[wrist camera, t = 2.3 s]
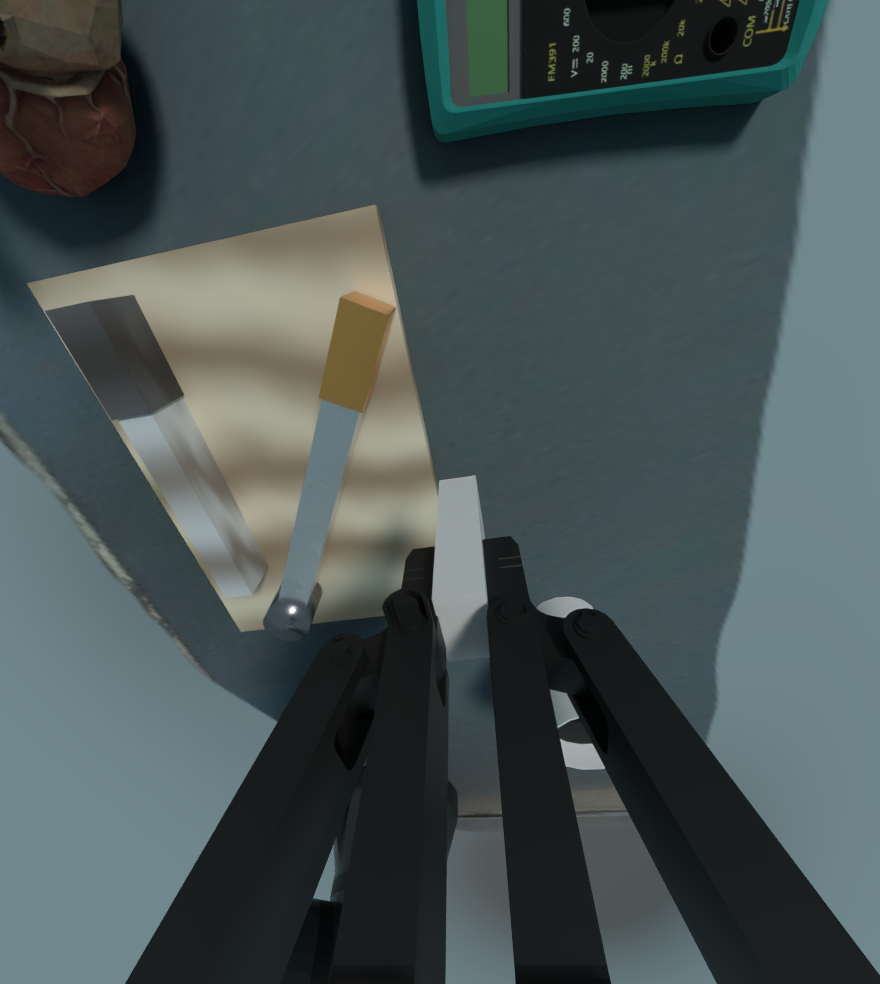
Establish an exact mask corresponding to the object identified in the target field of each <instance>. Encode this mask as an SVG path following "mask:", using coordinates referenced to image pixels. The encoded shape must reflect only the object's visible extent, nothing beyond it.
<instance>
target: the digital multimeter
mask: <svg viewBox="0 0 880 984" xmlns="http://www.w3.org/2000/svg"><path fill="white" fill-rule="evenodd" d="M828 2H829V0H417V6H418V18H419V30H420V38H421V47H422V55H423V63H424V71H425V79H426V86H427V93H428V100H429V107H430V114H431V120H432V127H433V132H434V135H435V137H436V138H437V139H438V140H439V141H440V142H444V143H448V142H453V141H458V140H464V139H469V138H474V137H479V136H485V135H490V134H495V133H501V132H506V131H511V130H517V129H522V128H527V127H533V126H538V125H545V124H552V123H559V122H566V121H573V120H579V119H586V118H593V117H600V116H607V115H614V114H625V113H635V112H646V111H656V110H667V109H678V108H688V107H703V106H718V105H734V104H749V103H756V102H758V101H760V100H763V99H765V98H767V97H769V96H771V95H773V94H776V93H778V92H780V91H782V90H784V89H786V88H789V87H790V86H791V85H792V84H793V83H794V81H795V80H796V79H797V76H798V74H799V72H800V70H801V67H802V65H803V63H804V60H805V58H806V56H807V54H808V51H809V49H810V47H811V44H812V42H813V40H814V37H815V35H816V33H817V30H818V28H819V26H820V23H821V21H822V18H823V16H824V13H825V10H826V7H827V5H828ZM676 9H677V10H676ZM670 18H671V19H670ZM668 21H669V22H668ZM667 22H668V23H667ZM659 31H660V32H659ZM649 39H650V40H649ZM640 44H641V45H640ZM608 45H609V46H608ZM638 45H639V46H638ZM764 66H767V67H764ZM757 67H760V68H757ZM749 68H752V69H749ZM742 69H745V70H742ZM734 70H738V71H734ZM727 71H730V72H727ZM719 72H723V73H719ZM712 73H716V74H712ZM704 74H708V75H704ZM697 75H700V76H697ZM690 76H693V77H690ZM682 77H685V78H682ZM675 78H677V79H675ZM667 79H670V80H667ZM660 80H662V81H660ZM652 81H654V82H652ZM645 82H647V83H645ZM637 83H639V84H637ZM630 84H631V85H630ZM622 85H624V86H622ZM450 86H451V89H450ZM615 86H617V87H615ZM607 87H609V88H607ZM600 88H602V89H600ZM593 89H595V90H593ZM585 90H587V91H585ZM578 91H580V92H578ZM570 92H572V93H570ZM563 93H565V94H563ZM555 94H558V95H555ZM548 95H550V96H548ZM540 96H543V97H540ZM533 97H535V98H533ZM525 98H527V99H525Z"/></svg>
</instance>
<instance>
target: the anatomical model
mask: <svg viewBox="0 0 880 984" xmlns="http://www.w3.org/2000/svg"><path fill="white" fill-rule="evenodd" d="M122 21H123V17H122V3H121V0H0V173H1V174H2V175H4V176H5V177H6V178H8V179H9V180H10V181H11V182H13V183H14V184H17V185H19V186H21V187H23V188H25V189H28V190H30V191H33V192H39V193H46V194H52V195H58V196H64V197H71V198H73V197H85V196H86V195H88V194H90V193H91V192H93V191H94V190H96V189H98V188H99V187H101V186H102V185H104V184H105V183H107V182H108V181H109V180H111V179H112V178H113V177H115V176H116V175H117V174H118V173H119V172H121V171H122V170H123V169H124V168H125V167H126V165H127V163H128V160H129V158H130V156H131V153H132V151H133V149H134V144H135V137H136V128H135V122H134V116H133V109H132V104H131V98H130V92H129V86H128V81H127V69H126V67H125V65H124V62H123V60H122V57H121V39H122Z"/></svg>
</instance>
